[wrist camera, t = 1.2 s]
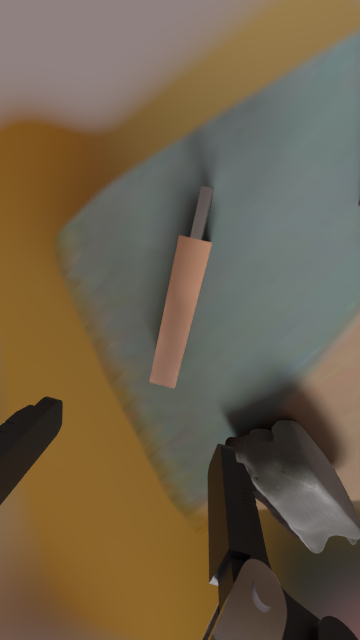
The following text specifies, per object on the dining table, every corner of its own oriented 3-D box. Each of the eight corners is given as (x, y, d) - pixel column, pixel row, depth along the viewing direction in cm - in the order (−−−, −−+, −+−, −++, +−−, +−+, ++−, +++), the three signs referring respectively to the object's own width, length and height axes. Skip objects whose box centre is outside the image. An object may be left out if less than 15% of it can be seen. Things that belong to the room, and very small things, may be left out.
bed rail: (220, 204, 21) (225, 190, 16) (179, 365, 28) (174, 388, 23) (192, 198, 21) (189, 182, 16) (158, 359, 28) (149, 381, 23)
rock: (212, 430, 31) (215, 488, 23) (278, 396, 27) (306, 450, 20) (277, 500, 34) (298, 569, 27) (343, 477, 31) (388, 549, 23)
